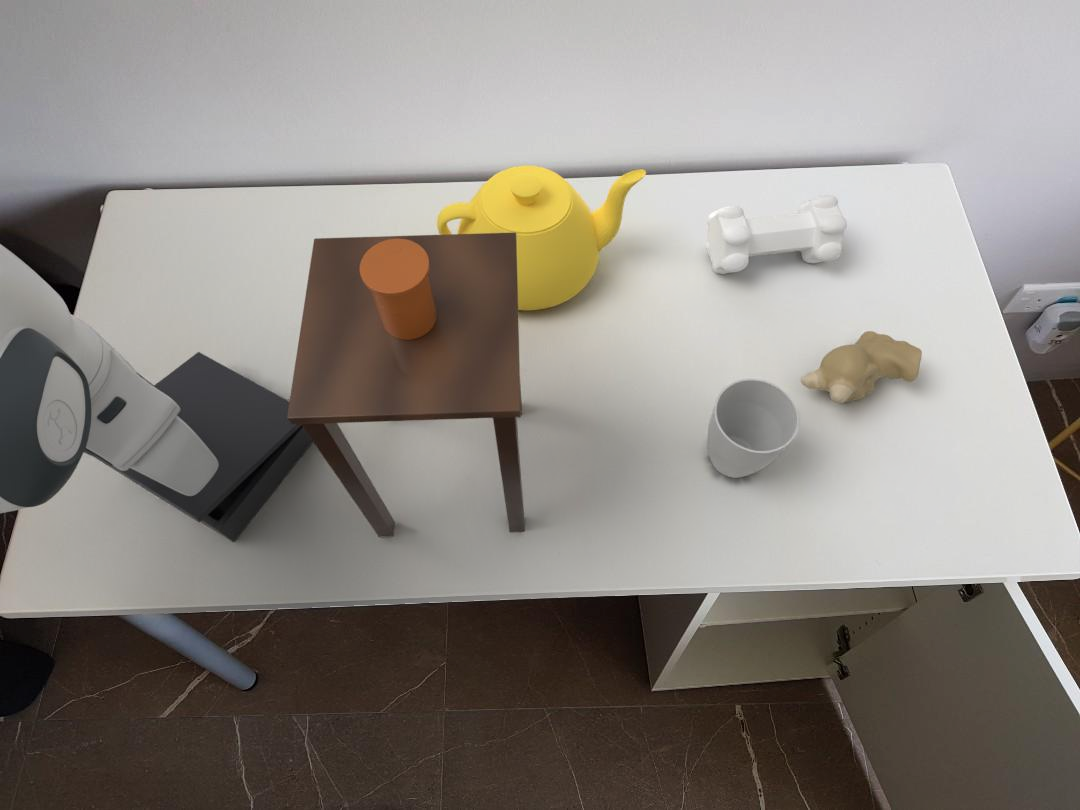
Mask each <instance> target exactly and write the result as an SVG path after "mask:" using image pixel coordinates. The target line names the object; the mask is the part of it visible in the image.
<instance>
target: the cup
mask: <svg viewBox="0 0 1080 810" xmlns="http://www.w3.org/2000/svg"><path fill="white" fill-rule="evenodd" d="M799 427H800V416H799V411H798V409H797V406H796V403H795V402H794V400H793V399H792V397H791V396H790V395H789V394H788V393H787V392H786V391H785V390H784V389H782V388H781V387H780V386H779V385H776V384H775V383H772V382H770V381H767V380H765V379H760V378H743V379H742V378H741V379H738V380H735V381H733V382H731V383H729V384H728V385H726V386H725V387H724V388H722V390H721V391H720V392H719V393H718V395H717V397H716V400H715V402H714V406H713V408H712V413H711V416H710V418H709V423H708V429H707V442H706V443H707V451H708V455H709V459H710V462H711V464H712V466H713V467H714V469H715V470H716V471H717V472H719V473H720V474H721V475H723V476H726V477H728V478H735V479H736V478H737V479H738V478H743V477H746V476H751V475H754V474H755V473H758V472H759V471H761V470H763V469H764V468H765V467H766V466H768V465H770V464H771V463H772V462H773V461H774V460H776V459H777V458H778V456H780V455H781V454H782V452H783V451H784V450H786V448H787V447H788V446H789V445H790V443H792V441H793V440H794V439H795V437H796V436H797V433H798V431H799Z"/></svg>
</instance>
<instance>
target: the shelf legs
mask: <svg viewBox="0 0 1080 810" xmlns="http://www.w3.org/2000/svg"><path fill="white" fill-rule="evenodd" d="M521 388H522V385H521V383H520V405H521V416H523V405H522V404H523V402H522V389H521ZM517 418H518V417H503V418H492V420H493V427H494V436H495V443H496V448H497V449H496V450H497V454H498V463H499V468H500V469H499V470H500V476H501V483H502V489H503V498H504V501H505V502H504V503H505V510H506V517H507V524H508V530H509V531H508V532H509V533H522V532H523V533H524V532H525V531H526V527H525V525H526V524H525V523H526V521H525V520H526V519H525V506H524V495H523V483H522V481H523V479H522V470H521V469H522V468H521V456H520V455H521V454H520V445H519V444H520V443H519V432H518V431H519V430H518V419H517ZM301 425H302V426H303V428H304V429H305V431H306V432H307V433H308V435H309V436H310V438H311V439H312V441H313V444H314V445H315V446H316V448H317V450H318V451H319V452H320V454H321V455H322V457H323V458H324V460H325V461H326V463H327V465H328V466H329V467H330V468H331V470H332V471H333V473H334V474H335V476H336V477H337V479H338V480H339V481H340V484H342V486H343V487H344V489H345V491H347V494H349V496H350V497H351V498H352V500H353V502H354V503H355V504H356V506H357V508H358V509H359V510H360V512H361V514H362V515H363V517H364V518H365V519H366V521H367V522H368V524H369V525H370V526H371V528H372V529H373V531H374V532H375V534H376V535H377V537H379V538H381V537H383V538H385V537H394V536H395V525H396V524H395V523H396V521H395V520H394V518H393V516H392V514H391V513H390V511H389V509H388V508H387V506H386V504H385V502H384V501H383V499H382V497H381V495H380V494H379V492H378V490H377V489H376V487H375V486H374V484H373V482H372V480H371V479H370V477H369V475H368V474H367V471H366V470H365V468H364V467H363V465H362V463H361V462H360V459H359V458H358V456H357V454H356V453H355V451H354V450H353V448H352V445H350V443H349V441H348V440H347V437H346V436H345V434H344V432H343V431H342V429H341V427H340V426H339V423H322V424H301Z"/></svg>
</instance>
